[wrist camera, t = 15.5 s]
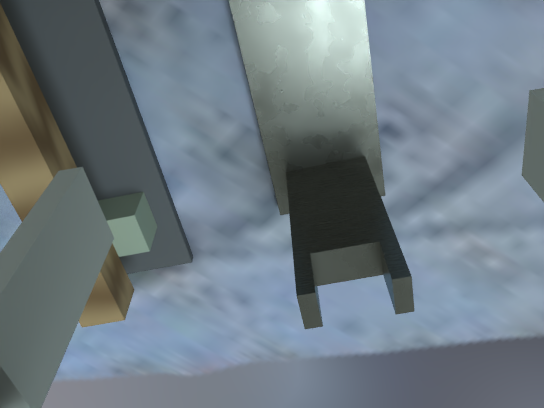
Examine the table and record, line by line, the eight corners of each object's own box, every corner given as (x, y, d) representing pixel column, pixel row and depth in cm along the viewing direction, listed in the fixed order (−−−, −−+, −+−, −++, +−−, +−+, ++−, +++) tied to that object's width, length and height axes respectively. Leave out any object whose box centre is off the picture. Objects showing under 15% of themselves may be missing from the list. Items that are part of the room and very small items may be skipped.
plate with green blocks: (-168, -144, 34) (-229, -149, 30) (25, -198, 33) (-9, -210, 29) (66, 279, 54) (49, 312, 50) (193, 256, 53) (187, 288, 49)
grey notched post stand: (191, -163, 34) (136, -201, 19) (339, -201, 33) (405, -274, 18) (279, 206, 50) (288, 348, 35) (382, 187, 49) (437, 324, 34)
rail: (-141, -149, 30) (-191, -153, 27) (-79, -166, 30) (-122, -173, 26) (94, 296, 49) (82, 327, 46) (134, 289, 49) (124, 320, 45)
